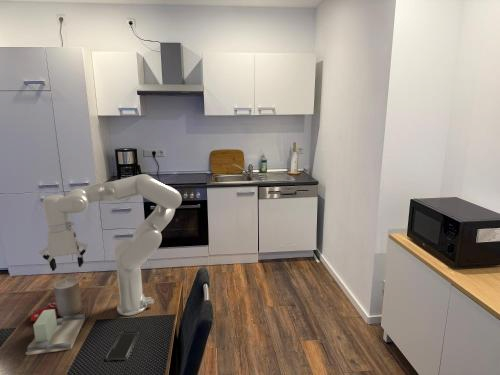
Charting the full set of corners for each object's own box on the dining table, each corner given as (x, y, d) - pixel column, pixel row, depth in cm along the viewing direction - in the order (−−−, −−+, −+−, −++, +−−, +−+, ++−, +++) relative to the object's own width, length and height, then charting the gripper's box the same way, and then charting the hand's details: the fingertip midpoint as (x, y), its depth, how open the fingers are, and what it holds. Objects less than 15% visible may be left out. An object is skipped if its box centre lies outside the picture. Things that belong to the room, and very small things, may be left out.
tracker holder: (59, 318, 141) (31, 321, 135) (58, 326, 142) (29, 329, 136) (58, 299, 150) (32, 300, 144) (57, 307, 151) (30, 309, 146)
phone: (139, 331, 132) (126, 358, 117) (140, 334, 132) (127, 361, 117) (119, 332, 132) (104, 359, 117) (120, 334, 132) (104, 362, 117)
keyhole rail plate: (85, 319, 141) (84, 314, 141) (71, 349, 123) (70, 343, 123) (46, 323, 138) (45, 318, 138) (26, 355, 120) (25, 349, 120)
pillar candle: (84, 303, 153) (79, 273, 150) (81, 314, 144) (76, 282, 141) (60, 307, 150) (55, 276, 147) (55, 319, 141) (50, 287, 138)
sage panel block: (57, 326, 135) (54, 309, 133) (48, 343, 125) (45, 324, 124) (46, 328, 134) (43, 310, 132) (36, 344, 125) (33, 325, 123)
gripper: (85, 221, 135) (93, 260, 139) (38, 226, 131) (47, 266, 135) (81, 227, 128) (88, 268, 132) (30, 233, 124) (40, 275, 128)
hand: (67, 267), depth 133 cm, fingers open, 9 cm apart
